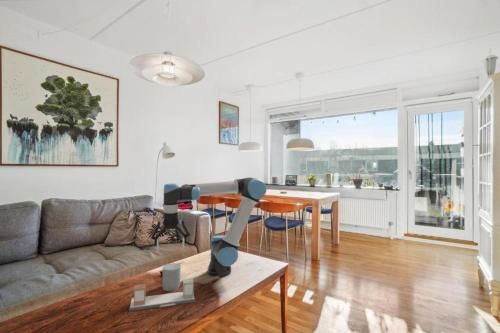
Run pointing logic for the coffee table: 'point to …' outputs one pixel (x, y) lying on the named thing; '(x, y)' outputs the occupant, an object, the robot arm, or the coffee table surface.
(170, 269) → the beer can
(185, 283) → the sage box
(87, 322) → the coffee table surface
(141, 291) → the clay box
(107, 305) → the coffee table surface
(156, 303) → the shelf board
